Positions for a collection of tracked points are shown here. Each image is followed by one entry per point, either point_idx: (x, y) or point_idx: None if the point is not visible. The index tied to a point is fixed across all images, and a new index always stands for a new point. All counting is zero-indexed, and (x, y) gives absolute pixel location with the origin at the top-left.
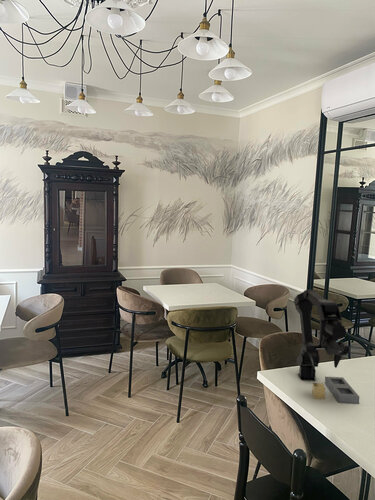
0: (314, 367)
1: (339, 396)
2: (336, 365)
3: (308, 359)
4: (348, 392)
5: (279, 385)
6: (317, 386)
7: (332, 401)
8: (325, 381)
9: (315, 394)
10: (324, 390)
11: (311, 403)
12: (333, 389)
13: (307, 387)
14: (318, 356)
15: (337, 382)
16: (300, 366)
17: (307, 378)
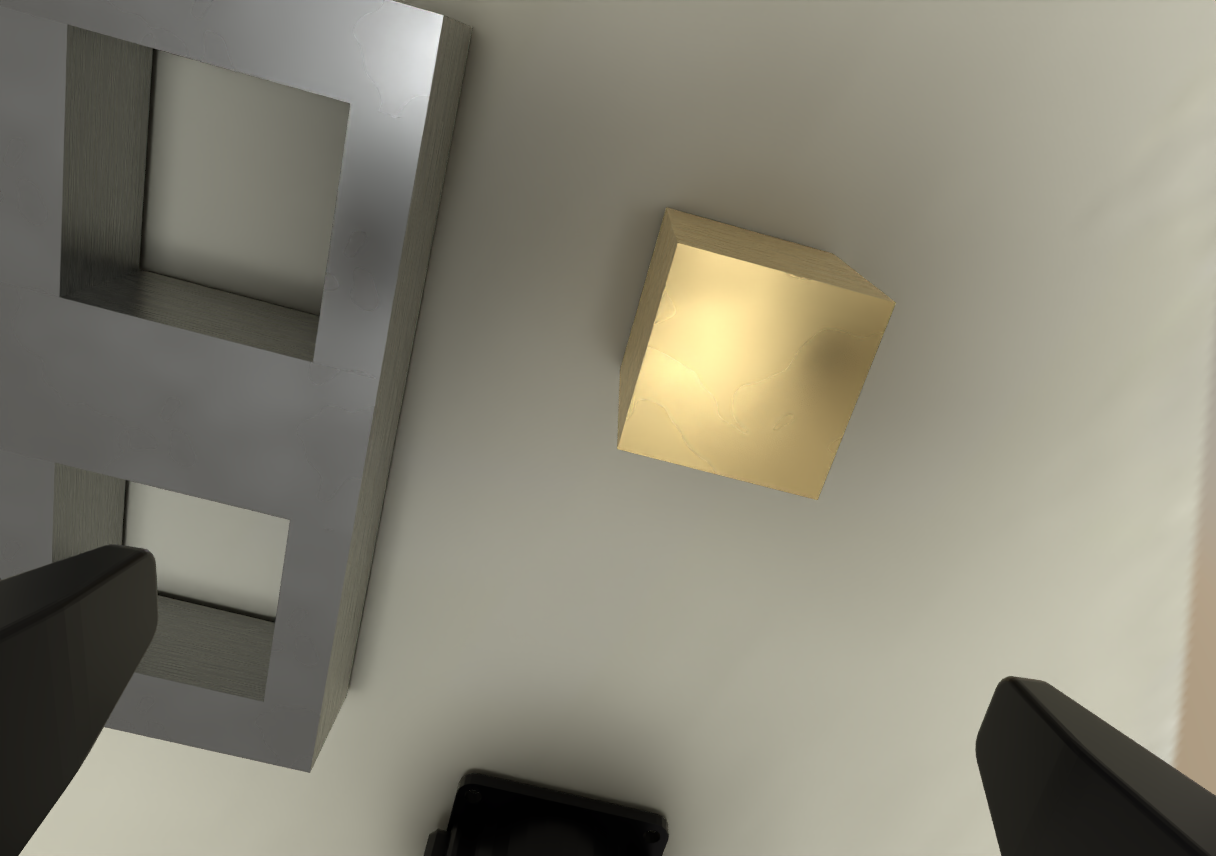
0: (1034, 679)
1: (443, 17)
2: (60, 581)
3: None
4: (117, 282)
5: None
6: (824, 326)
7: (560, 113)
8: (339, 698)
9: (843, 266)
10: (685, 235)
11: (1002, 105)
12: (390, 357)
13: (707, 619)
14: None
15: None
16: None
17: (572, 826)
